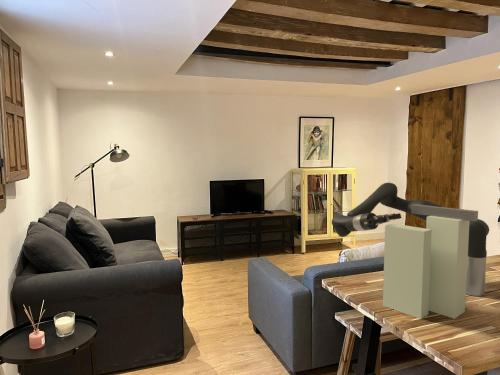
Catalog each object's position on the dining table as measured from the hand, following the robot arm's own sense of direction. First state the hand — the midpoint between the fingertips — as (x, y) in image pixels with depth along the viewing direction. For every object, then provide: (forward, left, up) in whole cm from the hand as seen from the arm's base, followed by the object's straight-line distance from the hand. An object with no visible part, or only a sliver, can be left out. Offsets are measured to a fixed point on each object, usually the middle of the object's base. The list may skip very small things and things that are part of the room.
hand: (393, 217), depth 152 cm
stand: (-10, +17, -37) cm, 42 cm away
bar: (-10, +15, +1) cm, 18 cm away
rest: (+2, +7, -37) cm, 38 cm away
